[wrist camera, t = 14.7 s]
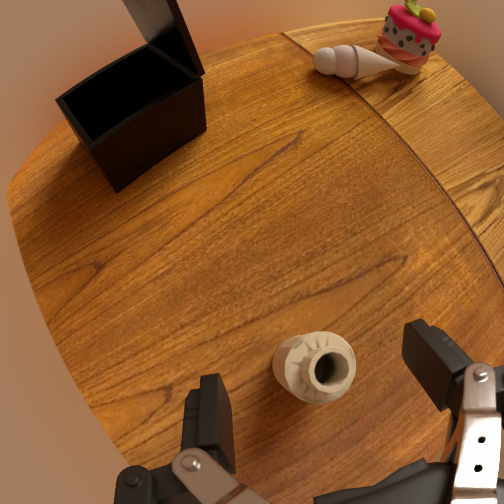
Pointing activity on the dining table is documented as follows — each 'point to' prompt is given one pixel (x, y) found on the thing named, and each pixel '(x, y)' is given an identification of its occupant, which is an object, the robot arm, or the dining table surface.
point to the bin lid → (166, 30)
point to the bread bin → (135, 113)
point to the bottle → (315, 366)
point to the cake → (408, 36)
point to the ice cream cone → (350, 62)
